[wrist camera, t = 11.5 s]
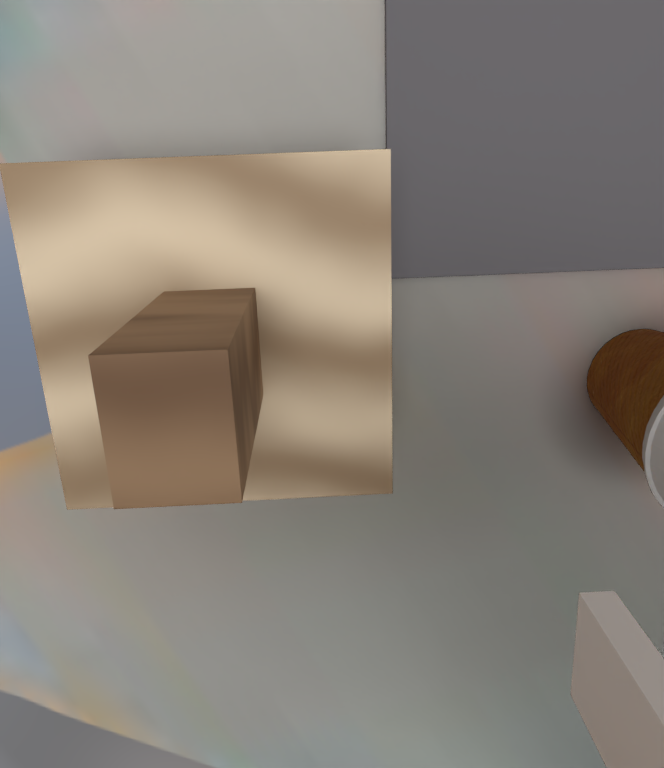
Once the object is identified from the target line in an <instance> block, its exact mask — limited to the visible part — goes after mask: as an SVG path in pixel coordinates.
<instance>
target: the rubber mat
mask: <svg viewBox="0 0 664 768" xmlns="http://www.w3.org/2000/svg"><path fill="white" fill-rule="evenodd" d="M385 43H386V149H391V279H393V278H418V277H443V276H468V275H492V274H517V273H542V272H567V271H592V270H617V269H641V268H664V0H385Z"/></svg>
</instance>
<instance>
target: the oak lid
mask: <svg viewBox="0 0 664 768" xmlns="http://www.w3.org/2000/svg"><path fill="white" fill-rule="evenodd" d="M0 171H1V175H2V181H3V186H4V191H5V196H6V202H7V206H8V211H9V217H10V222H11V227H12V232H13V236H14V242H15V247H16V252H17V257H18V262H19V268H20V273H21V278H22V282H23V288H24V293H25V298H26V303H27V308H28V313H29V318H30V324H31V329H32V334H33V339H34V343H35V349H36V354H37V359H38V364H39V369H40V374H41V380H42V384H43V389H44V395H45V399H46V405H47V410H48V415H49V420H50V425H51V430H52V436H53V441H54V446H55V451H56V456H57V461H58V466H59V471H60V476H61V481H62V486H63V491H64V497H65V502H66V507H67V510H68V509H88V508H109V507H114V509H125V508H145V507H165V506H185V505H205V504H225V503H242V501H249V500H269V499H289V498H309V497H329V496H349V495H369V494H389V493H393V484H392V291H391V149H376V150H349V151H323V152H296V153H269V154H242V155H216V156H189V157H162V158H135V159H109V160H82V161H55V162H28V163H2V164H0Z"/></svg>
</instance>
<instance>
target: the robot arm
mask: <svg viewBox="0 0 664 768" xmlns="http://www.w3.org/2000/svg"><path fill="white" fill-rule="evenodd" d="M571 696H572V698H573V701H574V703H575V705H576V707H577V709H578V711H579V713H580V715H581V717H582V719H583V721H584V723H585V725H586V727H587V729H588V731H589V733H590V735H591V737H592V739H593V741H594V743H595V745H596V747H597V749H598V751H599V753H600V755H601V757H602V759H603V761H604V763H605V765H606V768H664V658H663V657H662V656H661V654H660V653H659V651H658V650H657V649H656V647H655V646H654V645H653V643H652V642H651V640H650V639H649V638H648V636H647V635H646V634H645V632H644V631H643V629H642V628H641V627H640V625H639V624H638V623H637V621H636V620H635V618H634V617H633V616H632V614H631V613H630V612H629V610H628V609H627V607H626V606H625V605H624V603H623V602H622V600H621V599H620V598H619V596H618V595H617V594H616V592H615V591H601V592H582V593H579V601H578V613H577V624H576V636H575V648H574V659H573V671H572V683H571Z"/></svg>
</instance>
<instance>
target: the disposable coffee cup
mask: <svg viewBox="0 0 664 768" xmlns="http://www.w3.org/2000/svg"><path fill="white" fill-rule="evenodd" d="M587 389H588V393H589V397H590V399H591V401H592V403H593V405H594V406H595V407H596V409H597V410H598V411H599V412H600V414H601V415H602V416H603V418H604V419H605V420H606V422H607V423H608V424H609V425H610V427H611V428H612V430H613V431H614V432H615V434H616V435H617V436H618V437H619V439H620V440H621V441H622V443H623V444H624V445H625V447H626V448H627V449H628V451H629V452H630V453H631V455H632V456H633V457H634V459H635V460H636V461H637V463H638V464H639V465H640V467H641V468H642V469H643V471H644V472H645V476H646V479H647V482H648V484H649V487H650V490H651V492H652V494H653V495H654V497H655V498H656V500H657V501H658V502H659V503H660V505H661V506H662V507H663V508H664V332H659V331H655V330H651V329H638V330H632V331H628V332H625V333H622V334H620V335H618V336H616V337H614V338H613V339H612V340H610V341H609V342H608V343H606V344H605V345H604V346H603V347H602V348H601V349H600V350H599V352H598V353H597V355H596V356H595V358H594V359H593V361H592V364H591V366H590V369H589V372H588V376H587Z"/></svg>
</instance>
